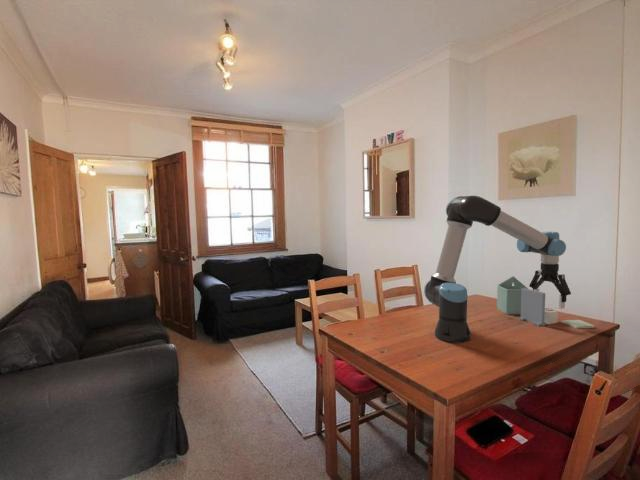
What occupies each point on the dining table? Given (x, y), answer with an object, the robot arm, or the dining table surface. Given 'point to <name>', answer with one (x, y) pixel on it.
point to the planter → (509, 296)
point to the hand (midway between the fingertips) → (548, 304)
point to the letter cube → (551, 316)
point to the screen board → (532, 306)
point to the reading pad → (578, 324)
